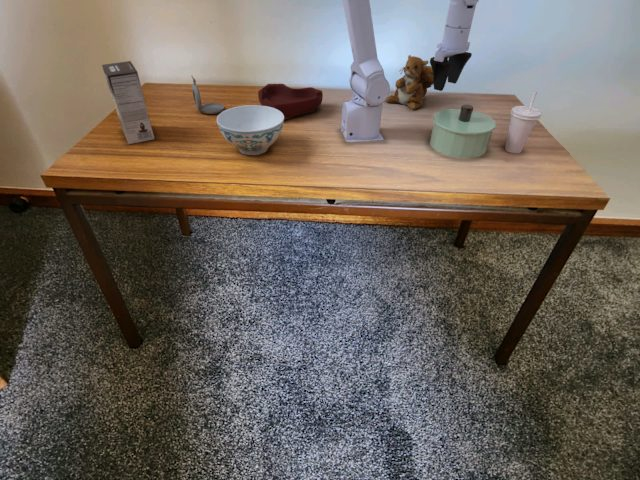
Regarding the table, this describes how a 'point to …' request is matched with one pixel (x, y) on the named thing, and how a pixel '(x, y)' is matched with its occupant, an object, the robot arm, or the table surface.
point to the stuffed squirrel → (413, 83)
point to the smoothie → (521, 126)
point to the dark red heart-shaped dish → (290, 99)
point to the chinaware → (251, 127)
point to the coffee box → (129, 101)
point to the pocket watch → (206, 108)
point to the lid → (464, 121)
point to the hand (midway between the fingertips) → (445, 86)
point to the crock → (458, 143)
